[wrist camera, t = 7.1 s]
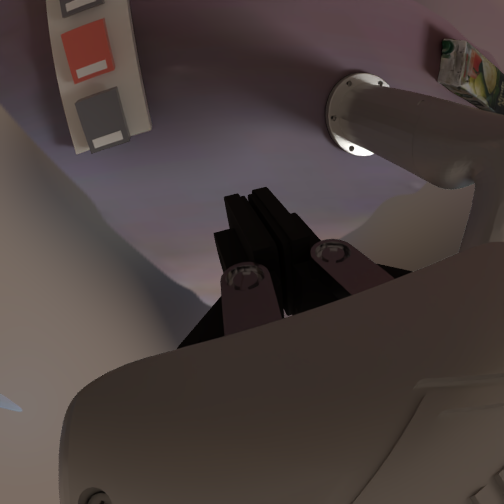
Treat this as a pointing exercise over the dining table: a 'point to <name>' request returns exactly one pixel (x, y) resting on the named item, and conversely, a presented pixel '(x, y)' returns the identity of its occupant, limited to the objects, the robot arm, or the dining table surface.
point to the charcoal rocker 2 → (103, 119)
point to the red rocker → (88, 51)
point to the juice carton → (471, 76)
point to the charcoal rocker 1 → (77, 6)
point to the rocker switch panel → (122, 76)
